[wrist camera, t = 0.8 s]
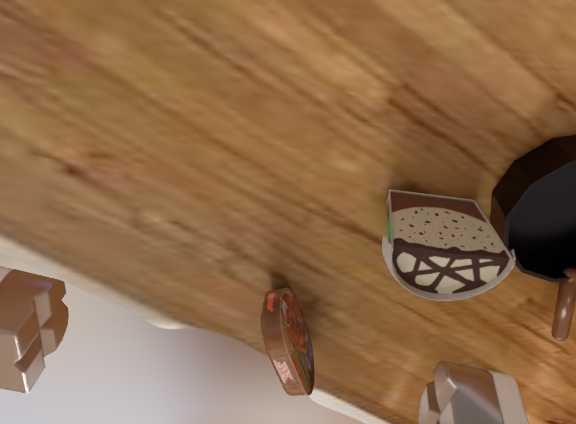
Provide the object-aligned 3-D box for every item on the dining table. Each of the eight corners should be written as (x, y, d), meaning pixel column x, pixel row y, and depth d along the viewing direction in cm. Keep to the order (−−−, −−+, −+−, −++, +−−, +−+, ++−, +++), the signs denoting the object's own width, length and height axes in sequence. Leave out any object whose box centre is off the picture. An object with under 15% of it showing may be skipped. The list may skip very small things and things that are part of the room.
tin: (316, 353, 69) (317, 409, 62) (293, 357, 70) (292, 412, 63) (286, 271, 61) (283, 325, 54) (260, 276, 62) (255, 330, 55)
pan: (494, 145, 51) (510, 170, 47) (658, 123, 49) (688, 146, 45) (484, 320, 65) (495, 350, 61) (611, 307, 63) (630, 337, 59)
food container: (361, 233, 57) (371, 297, 49) (374, 187, 54) (386, 248, 46) (469, 246, 58) (496, 311, 50) (488, 201, 55) (521, 264, 46)
